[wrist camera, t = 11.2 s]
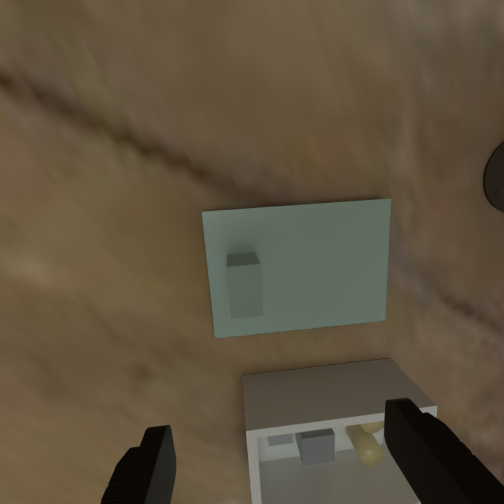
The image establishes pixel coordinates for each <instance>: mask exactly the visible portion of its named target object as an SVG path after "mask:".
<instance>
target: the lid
mask: <svg viewBox="0 0 504 504" xmlns="http://www.w3.org/2000/svg"><path fill="white" fill-rule="evenodd" d="M390 215H391V199H373V200H358V201H344V202H330V203H315V204H301V205H287V206H273V207H258V208H244V209H230V210H215V211H202V220H203V229H204V238H205V248H206V257H207V266H208V276H209V285H210V295H211V304H212V313H213V323H214V332H215V338H223V337H233V336H242V335H252V334H261V333H271V332H280V331H290V330H299V329H309V328H318V327H328V326H337V325H347V324H357V323H366V322H376V321H385V315H386V295H387V275H388V255H389V235H390Z"/></svg>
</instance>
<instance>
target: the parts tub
mask: <svg viewBox="0 0 504 504" xmlns="http://www.w3.org/2000/svg"><path fill="white" fill-rule="evenodd" d="M242 381H243V396H244V410H245V425H246V438H247V449H248V461H249V472H250V484H251V495H252V504H421V503H420V501H419V499H418V498H417V496H416V494H415V493H414V491H413V490H412V488H411V486H410V485H409V483H408V481H407V480H406V478H405V477H404V475H403V473H402V472H401V470H400V468H399V467H398V465H397V464H396V462H395V460H394V459H393V457H392V455H391V454H390V452H389V450H388V448H387V445H386V442H385V438H384V416H385V402H386V400H390V399H398V398H409V399H411V400H412V401H413V402H414V403H415V405H416V406H417V407H418V408H419V409H420V410H421V411H422V413H424V412H429V413H430V414H431V415H433V416H434V417H436V415H437V405H436V404H435V403H434V402H433V401H432V400H431V399H430V398H429V397H428V396H427V395H426V394H425V393H424V392H423V391H422V390H421V389H420V388H419V387H418V386H417V385H416V384H415V383H414V382H413V381H412V380H411V379H410V378H409V377H408V376H407V375H406V374H405V373H404V372H403V371H402V370H401V369H400V368H399V367H398V366H397V365H396V364H395V363H394V362H393V361H392V360H391V359H390V358H387V359H378V360H370V361H361V362H353V363H344V364H336V365H327V366H319V367H310V368H302V369H293V370H285V371H276V372H268V373H259V374H251V375H242Z"/></svg>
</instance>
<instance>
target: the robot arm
mask: <svg viewBox="0 0 504 504" xmlns="http://www.w3.org/2000/svg"><path fill="white" fill-rule="evenodd" d="M485 190H486V194H487V196H488V199H489V200H490V202H491V203H492V204H493V205H494V206H495V207H496V208H497V209H499V210H501V211H504V143H502V144H501V145H500V146H499V148H498V149H497V150H496V151H495V152H494V154H493V155H492V157H491V159H490V161H489V163H488V166H487V169H486V173H485ZM384 438H385V442H386V445H387V448H388V450H389V452H390V454H391V455H392V457H393V459H394V460H395V462H396V464H397V465H398V467H399V468H400V470H401V472H402V473H403V475H404V477H405V478H406V480H407V481H408V483H409V485H410V486H411V488H412V490H413V491H414V493H415V494H416V496H417V498H418V499H419V501H420V503H421V504H504V486H503V485H502V484H501V483H500V482H499V481H498V480H497V479H496V478H495V476H494V475H493V474H492V473H491V472H490V471H489V470H488V469H487V468H486V467H485V466H484V465H483V464H482V463H481V462H480V461H479V459H478V458H477V457H476V456H475V455H472V453H471V451H470V450H469V449H468V448H467V447H466V446H465V445H464V443H463V442H460V440H459V438H458V437H457V436H456V435H455V434H454V433H453V432H452V431H451V430H450V429H449V428H448V426H447V425H446V424H445V423H443V422H442V421H440V420H439V419H437V418H436V417H434V416H433V415H431V414H430V413H429V412H424V413H422V411H421V410H420V409H419V408H418V407H417V406H416V405H415V403H414V402H413V401H412V400H411V399H409V398H398V399H390V400H386V402H385V416H384ZM175 475H176V455H175V449H174V443H173V437H172V431H171V427H170V425H165V426H156V427H148V428H147V429H146V431H145V433H144V436H143V439H142V441H141V444H140V447H133V448H129V450H128V451H127V452H126V453H125V455H124V456H123V457H122V459H121V460H120V461H119V462H118V464H117V465H116V467H115V470H114V472H113V474H112V477H111V479H110V481H109V483H108V484H109V485H108V487H107V488H106V490H105V493H104V495H103V497H102V499H101V504H170V501H171V496H172V492H173V487H174V482H175Z"/></svg>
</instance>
